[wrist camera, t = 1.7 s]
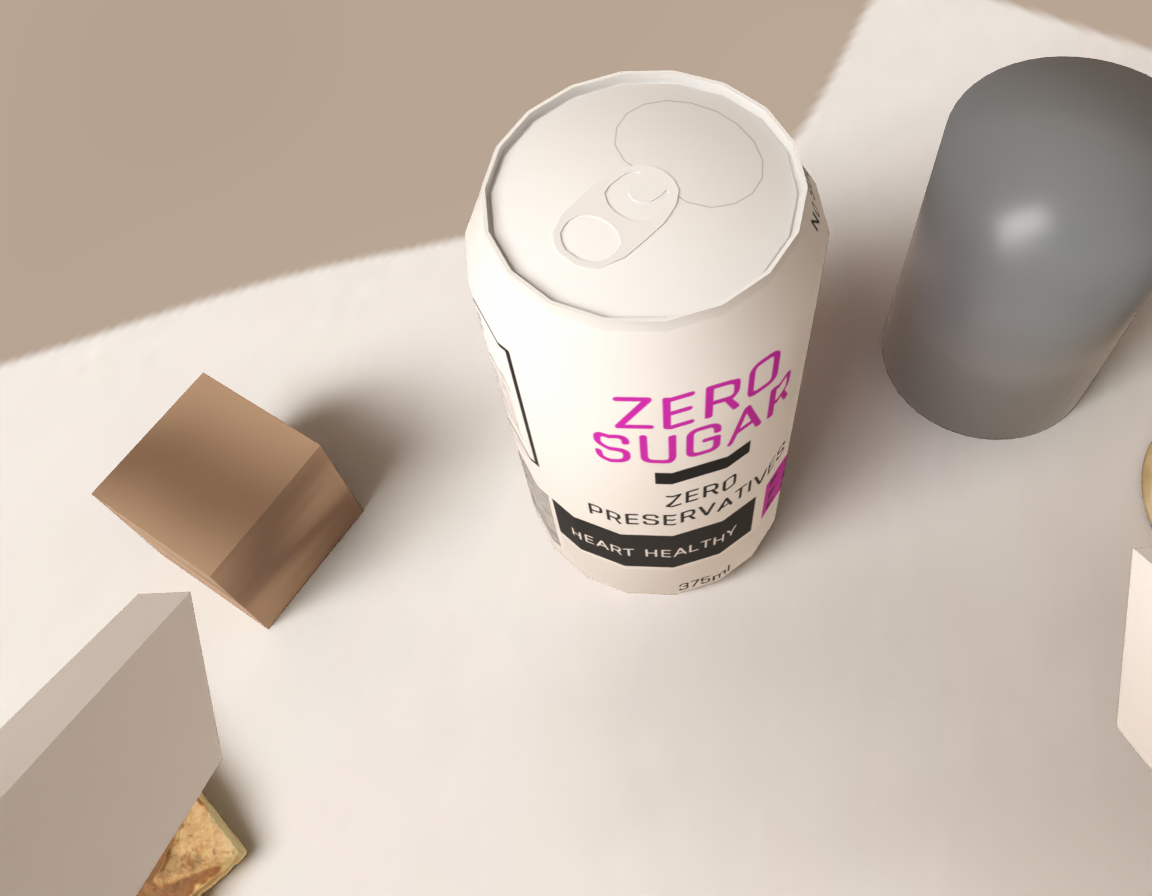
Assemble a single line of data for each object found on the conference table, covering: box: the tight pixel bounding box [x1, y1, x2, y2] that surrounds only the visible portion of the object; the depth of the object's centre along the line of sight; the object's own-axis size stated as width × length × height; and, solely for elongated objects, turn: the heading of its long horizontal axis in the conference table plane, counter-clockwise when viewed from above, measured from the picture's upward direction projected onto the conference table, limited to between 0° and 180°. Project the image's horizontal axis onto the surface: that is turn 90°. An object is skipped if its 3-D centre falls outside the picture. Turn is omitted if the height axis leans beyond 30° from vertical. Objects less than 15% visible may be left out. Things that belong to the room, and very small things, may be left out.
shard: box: [136, 792, 247, 896], centre depth 31 cm, size 11×8×2 cm
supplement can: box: [465, 71, 829, 595], centre depth 29 cm, size 8×8×15 cm
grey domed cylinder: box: [882, 56, 1152, 440], centre depth 33 cm, size 7×7×10 cm
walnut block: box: [92, 373, 363, 629], centre depth 34 cm, size 5×5×5 cm
